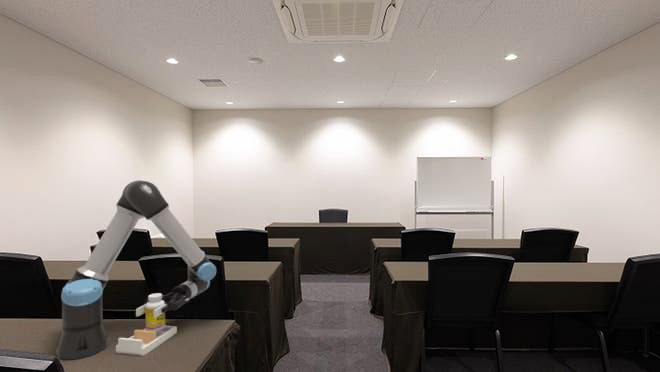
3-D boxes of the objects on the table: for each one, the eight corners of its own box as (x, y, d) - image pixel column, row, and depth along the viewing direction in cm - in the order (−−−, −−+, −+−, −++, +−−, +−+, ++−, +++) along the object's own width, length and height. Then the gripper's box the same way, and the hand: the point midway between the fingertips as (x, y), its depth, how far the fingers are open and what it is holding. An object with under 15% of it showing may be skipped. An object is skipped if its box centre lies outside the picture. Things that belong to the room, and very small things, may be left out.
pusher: (134, 341, 128) (134, 330, 128) (136, 340, 129) (136, 329, 129) (154, 343, 126) (154, 332, 126) (156, 342, 127) (156, 331, 127)
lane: (115, 352, 121) (115, 338, 121) (152, 330, 139) (152, 318, 139) (143, 355, 119) (143, 341, 119) (176, 332, 136) (176, 320, 136)
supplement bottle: (157, 333, 128) (156, 298, 128) (141, 331, 130) (140, 297, 129) (169, 325, 135) (168, 292, 135) (154, 324, 136) (153, 291, 136)
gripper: (204, 302, 148) (169, 325, 125) (164, 299, 152) (122, 321, 129) (204, 285, 148) (169, 305, 125) (163, 282, 152) (122, 301, 129)
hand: (145, 313), depth 127 cm, fingers closed on supplement bottle, 7 cm apart
